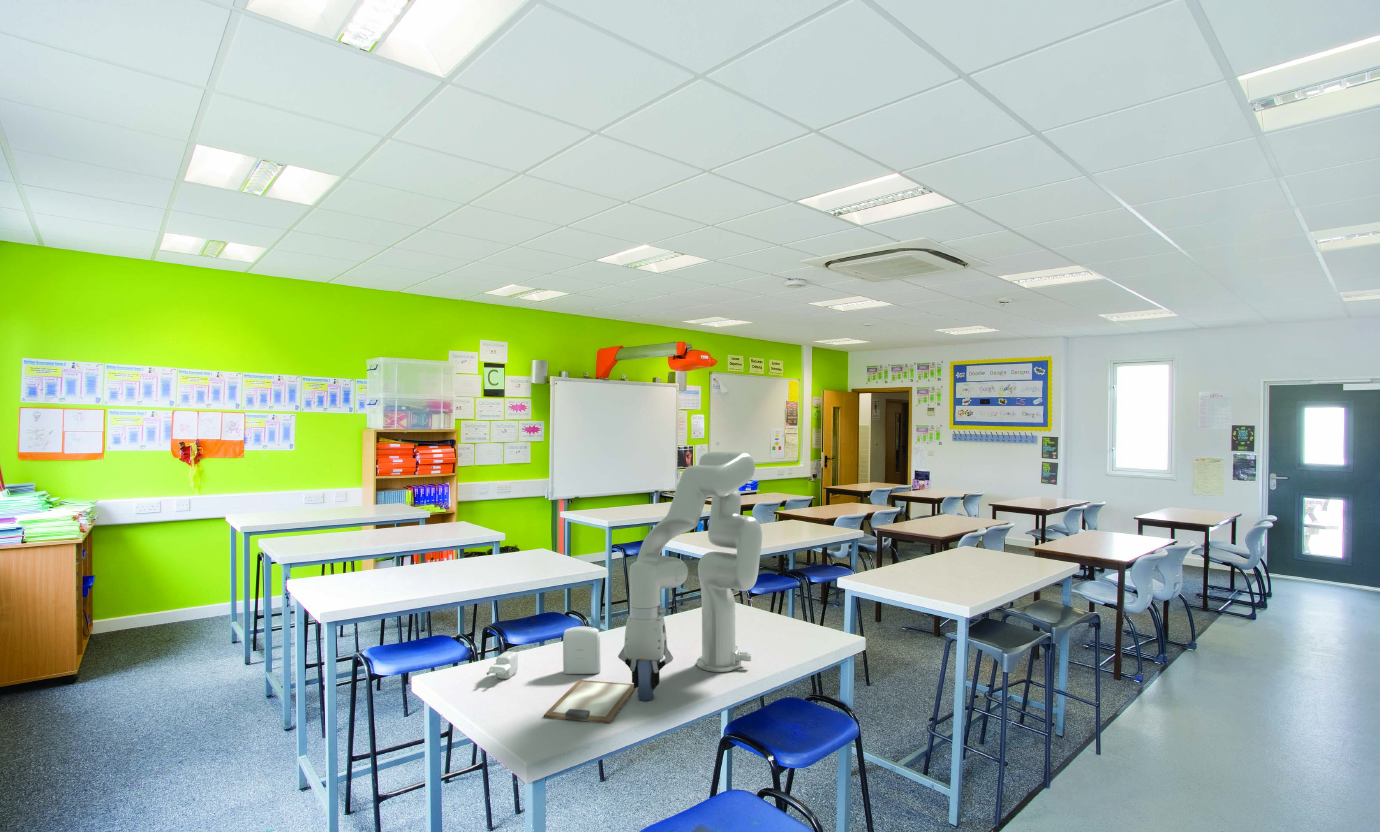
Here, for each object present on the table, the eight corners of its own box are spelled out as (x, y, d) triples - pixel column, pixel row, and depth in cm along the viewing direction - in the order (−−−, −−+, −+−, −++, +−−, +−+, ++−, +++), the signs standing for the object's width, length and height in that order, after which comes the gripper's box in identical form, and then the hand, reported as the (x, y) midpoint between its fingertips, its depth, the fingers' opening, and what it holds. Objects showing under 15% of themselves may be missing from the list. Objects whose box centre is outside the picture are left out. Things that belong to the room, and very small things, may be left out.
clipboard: (637, 686, 169) (637, 680, 169) (609, 723, 147) (609, 716, 147) (579, 681, 172) (579, 675, 172) (542, 718, 150) (542, 710, 150)
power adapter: (500, 687, 169) (500, 664, 169) (483, 686, 170) (483, 663, 170) (520, 672, 180) (520, 650, 180) (503, 671, 181) (503, 649, 181)
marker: (656, 694, 163) (655, 646, 163) (651, 701, 159) (651, 651, 159) (640, 693, 164) (639, 645, 164) (635, 700, 160) (634, 650, 160)
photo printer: (561, 675, 177) (561, 629, 178) (564, 669, 182) (564, 624, 182) (599, 675, 177) (599, 629, 178) (601, 669, 182) (601, 624, 182)
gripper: (681, 609, 164) (682, 683, 164) (617, 606, 167) (618, 678, 167) (674, 617, 157) (675, 695, 156) (607, 614, 160) (608, 690, 160)
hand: (645, 685), depth 162 cm, fingers closed on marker, 4 cm apart
